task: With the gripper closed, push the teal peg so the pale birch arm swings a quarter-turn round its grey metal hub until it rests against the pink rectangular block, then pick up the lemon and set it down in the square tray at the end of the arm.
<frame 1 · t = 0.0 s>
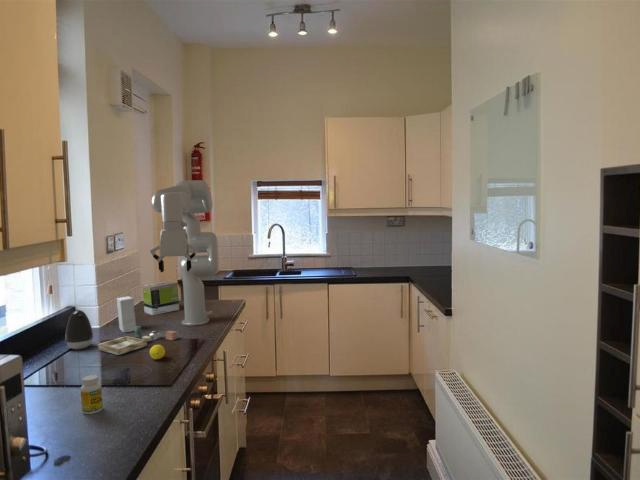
hand: (175, 271, 190), 31 cm above the worktop, tool pointing down, fingers open, 9 cm apart
hub: (155, 338, 212), on the worktop
grey dome gadget: (80, 348, 203), on the worktop
supplement bottle: (92, 411, 141), on the worktop
tea box: (161, 312, 263), on the worktop
skincare box: (127, 330, 227), on the worktop
lemon: (157, 359, 185), on the worktop
arm: (128, 337, 201), point 4 cm above the worktop, hinge at 0.0°
pink rectangular block: (171, 338, 211), on the worktop
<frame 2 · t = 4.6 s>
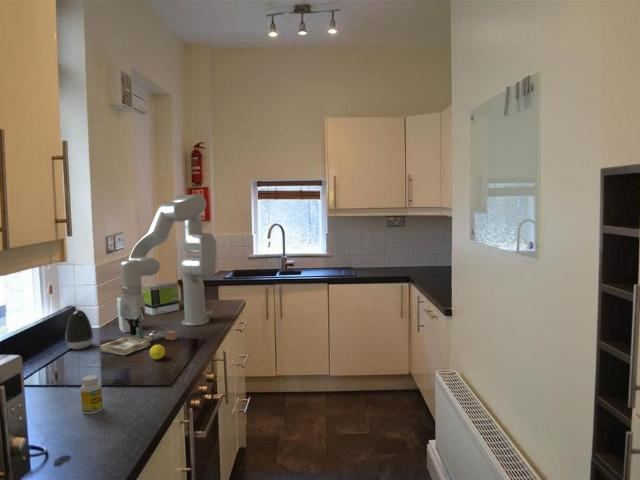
hand: (134, 334, 207), 3 cm above the worktop, tool pointing down, fingers closed
arm: (130, 338, 201), point 4 cm above the worktop, hinge at 6.5°, touching gripper
everything else where it was.
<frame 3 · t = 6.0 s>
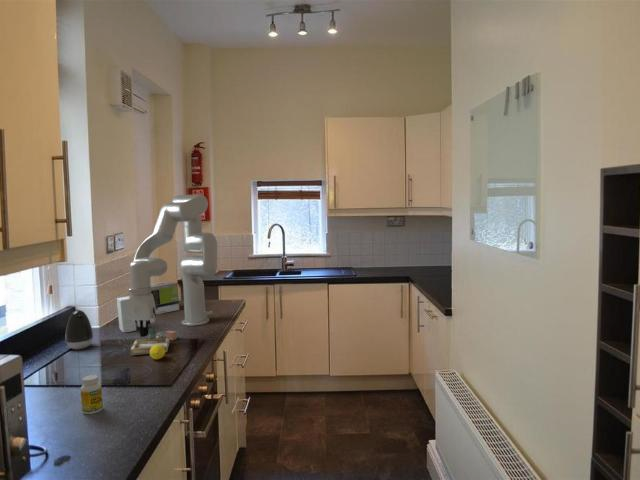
hand: (144, 335, 205), 3 cm above the worktop, tool pointing down, fingers closed
arm: (151, 338, 200), point 4 cm above the worktop, hinge at 46.1°, touching gripper
everything else where it was.
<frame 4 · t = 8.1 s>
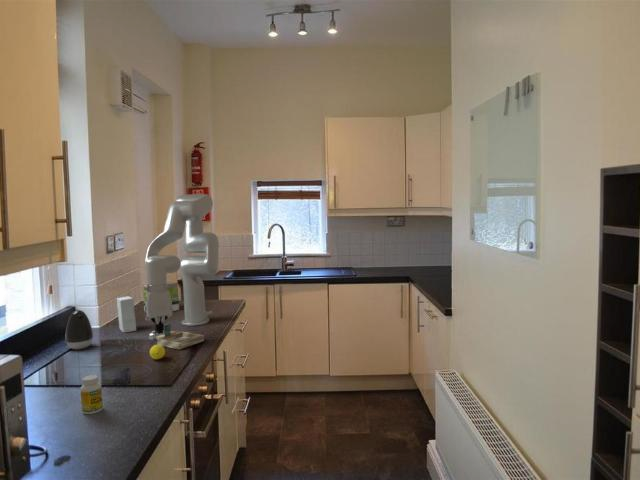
hand: (159, 332, 205), 4 cm above the worktop, tool pointing down, fingers closed
arm: (175, 333, 205), point 4 cm above the worktop, hinge at 91.4°, touching gripper, pink rectangular block
everything else where it was.
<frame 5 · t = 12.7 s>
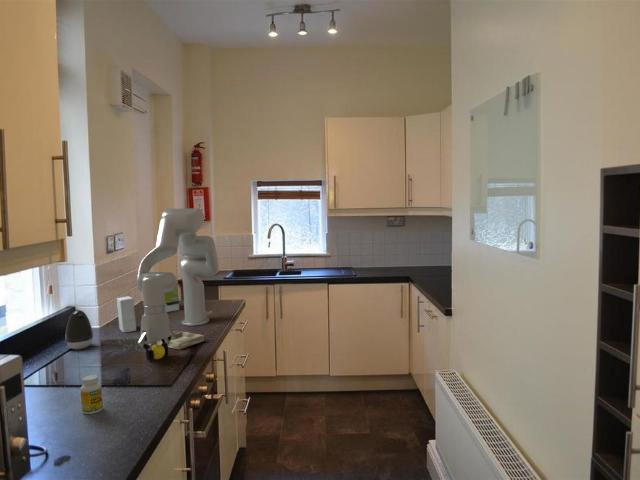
hand: (157, 357, 185), 1 cm above the worktop, tool pointing down, fingers closed on lemon, 5 cm apart
lemon: (157, 359, 185), on the worktop, touching gripper
arm: (175, 333, 205), point 4 cm above the worktop, hinge at 91.4°, touching pink rectangular block
everything else where it was.
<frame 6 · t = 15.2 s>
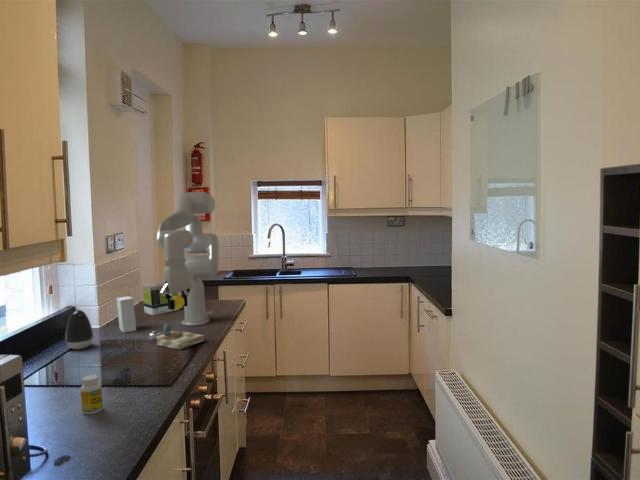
hand: (177, 307, 202), 15 cm above the worktop, tool pointing down, fingers closed on lemon, 5 cm apart
lemon: (178, 309, 202), point 14 cm above the worktop, touching gripper
everything else where it was.
when the fingers open (3 cm above the worktop, at t = 18.0 s): lemon drops 2 cm, resting on arm.
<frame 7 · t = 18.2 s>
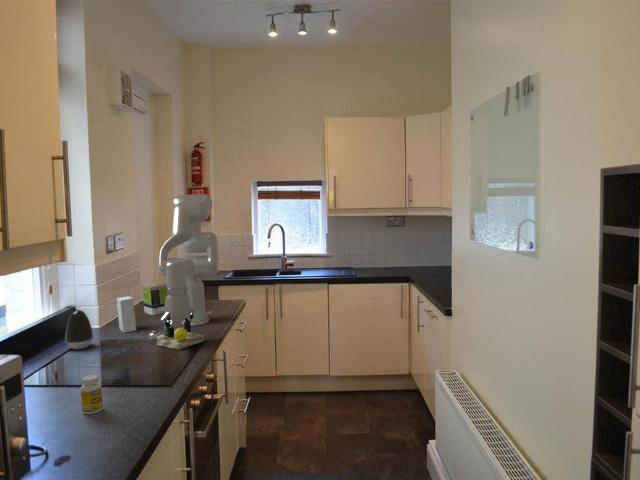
hand: (179, 334, 203), 4 cm above the worktop, tool pointing down, fingers open, 8 cm apart
lemon: (180, 341, 204), point 1 cm above the worktop, touching arm
arm: (175, 333, 205), point 4 cm above the worktop, hinge at 91.1°, touching lemon
everything else where it was.
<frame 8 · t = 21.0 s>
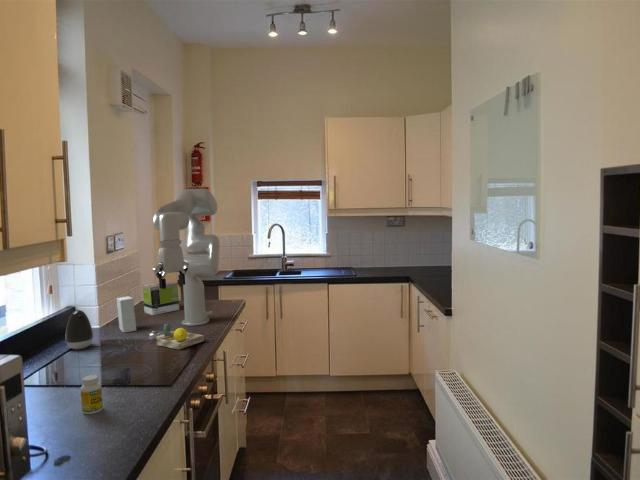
hand: (172, 286, 203), 23 cm above the worktop, tool pointing down, fingers open, 9 cm apart
nothing on the worktop moved.
at the end: arm at +91° (first picture: +0°); lemon inside the target area on the worktop beside the arm (0.7 cm from its centre), point 0.9 cm above the worktop; lemon touching arm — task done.
